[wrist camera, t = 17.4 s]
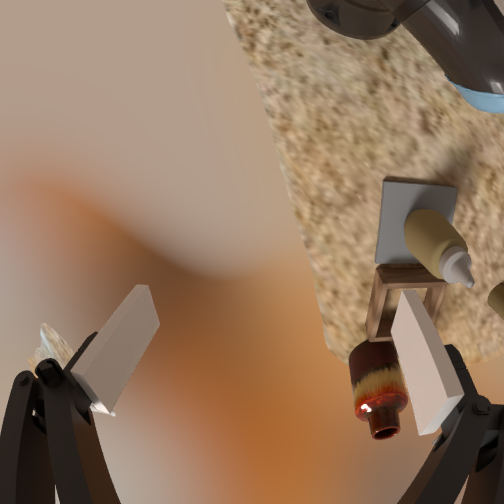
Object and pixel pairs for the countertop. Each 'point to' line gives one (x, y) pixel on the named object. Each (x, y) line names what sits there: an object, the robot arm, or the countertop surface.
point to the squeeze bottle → (438, 246)
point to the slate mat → (397, 210)
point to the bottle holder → (396, 280)
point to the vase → (378, 387)
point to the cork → (497, 300)
